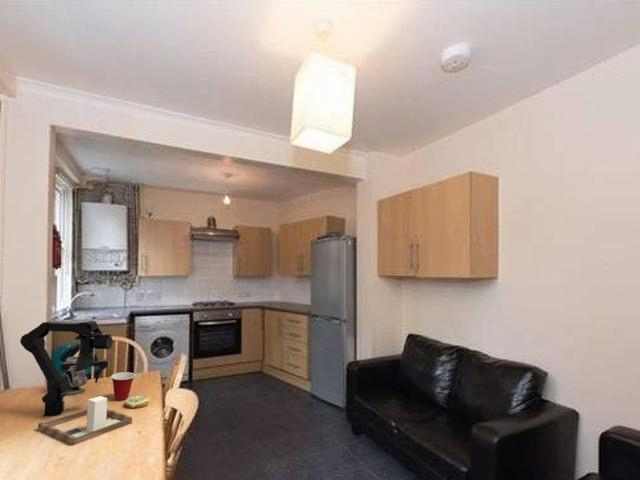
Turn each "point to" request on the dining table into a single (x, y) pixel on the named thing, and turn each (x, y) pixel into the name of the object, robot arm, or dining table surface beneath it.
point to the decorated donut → (137, 401)
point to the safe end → (89, 432)
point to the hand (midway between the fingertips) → (84, 384)
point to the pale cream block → (96, 413)
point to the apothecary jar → (77, 378)
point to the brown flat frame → (74, 440)
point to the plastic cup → (122, 385)
